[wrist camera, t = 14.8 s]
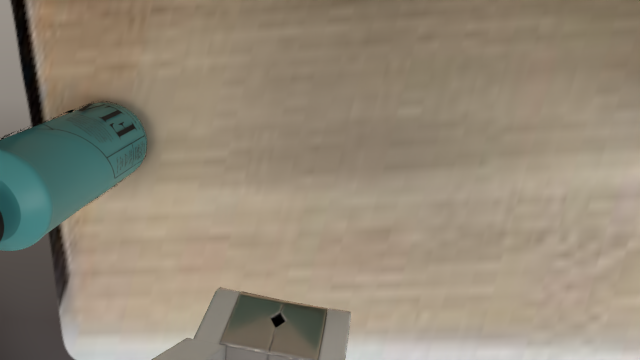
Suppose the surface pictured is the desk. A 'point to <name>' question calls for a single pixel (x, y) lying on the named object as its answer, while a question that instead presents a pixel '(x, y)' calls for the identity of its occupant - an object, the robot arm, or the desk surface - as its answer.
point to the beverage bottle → (64, 168)
